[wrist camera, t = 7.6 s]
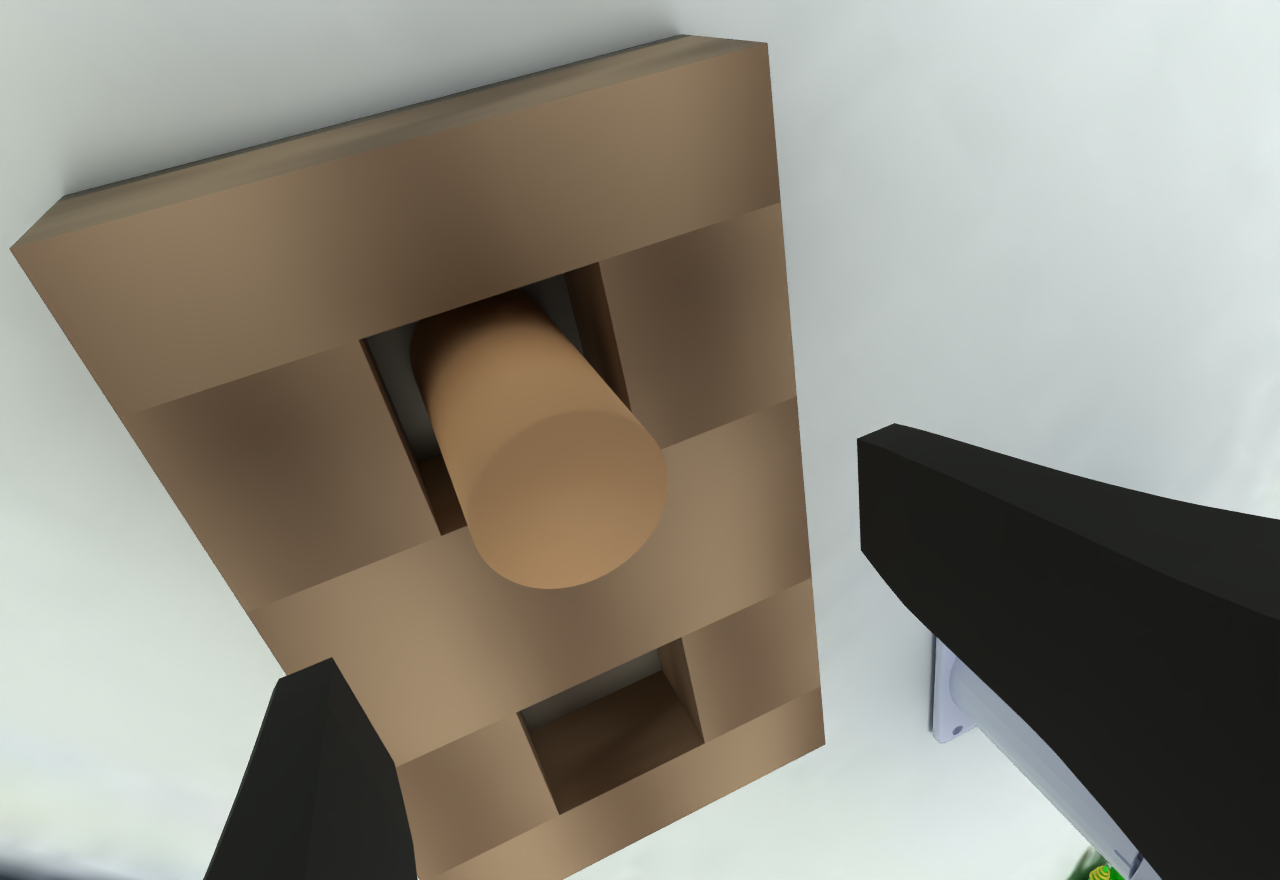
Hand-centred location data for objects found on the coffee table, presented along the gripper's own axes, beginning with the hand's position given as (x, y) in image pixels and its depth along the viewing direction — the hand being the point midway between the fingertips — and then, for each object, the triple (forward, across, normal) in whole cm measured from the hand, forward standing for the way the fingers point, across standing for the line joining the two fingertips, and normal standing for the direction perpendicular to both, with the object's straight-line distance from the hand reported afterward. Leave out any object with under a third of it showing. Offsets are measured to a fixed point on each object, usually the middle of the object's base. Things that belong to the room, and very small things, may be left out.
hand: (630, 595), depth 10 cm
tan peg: (+9, 0, 0) cm, 9 cm away
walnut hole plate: (+9, 0, +5) cm, 11 cm away
